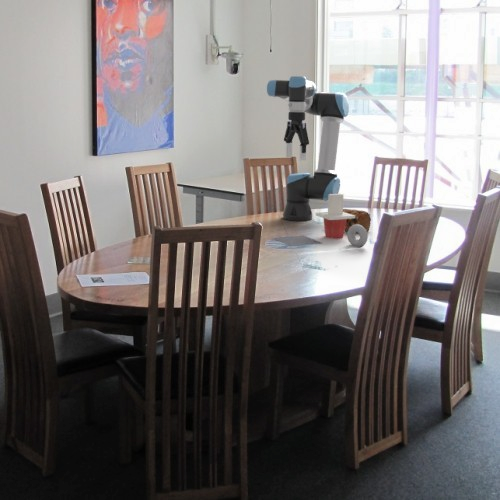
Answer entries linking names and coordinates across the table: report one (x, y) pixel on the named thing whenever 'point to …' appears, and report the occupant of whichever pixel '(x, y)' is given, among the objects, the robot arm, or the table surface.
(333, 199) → the lid
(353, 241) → the donut
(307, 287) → the table surface
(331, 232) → the flower pot
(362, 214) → the bread
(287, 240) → the mat
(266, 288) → the table surface
